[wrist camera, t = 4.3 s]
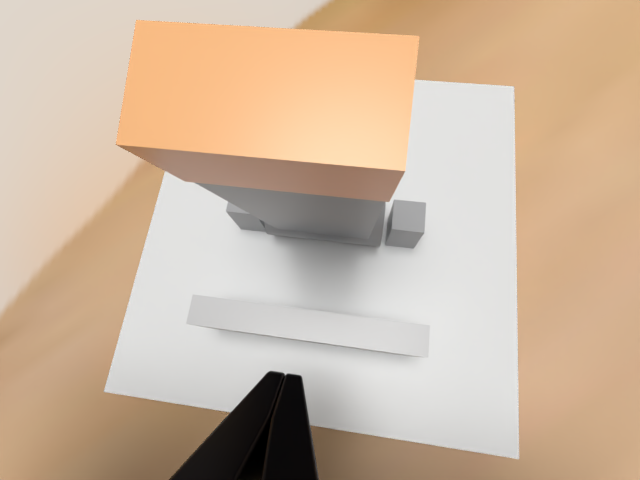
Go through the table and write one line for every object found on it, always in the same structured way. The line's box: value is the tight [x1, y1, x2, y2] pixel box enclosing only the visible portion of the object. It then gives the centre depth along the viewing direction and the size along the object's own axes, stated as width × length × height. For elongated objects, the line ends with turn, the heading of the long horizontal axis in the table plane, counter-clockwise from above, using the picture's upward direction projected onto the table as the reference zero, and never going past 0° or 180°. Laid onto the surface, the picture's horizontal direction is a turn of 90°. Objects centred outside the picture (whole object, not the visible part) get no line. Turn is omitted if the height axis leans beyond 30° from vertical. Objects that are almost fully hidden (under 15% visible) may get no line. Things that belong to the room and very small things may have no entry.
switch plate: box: [104, 80, 519, 459], centre depth 16 cm, size 16×16×5 cm
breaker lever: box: [116, 20, 419, 247], centre depth 10 cm, size 2×5×12 cm, turn 82°
